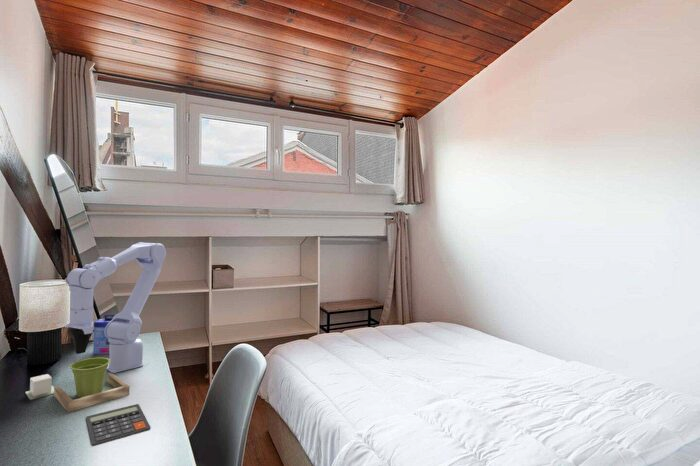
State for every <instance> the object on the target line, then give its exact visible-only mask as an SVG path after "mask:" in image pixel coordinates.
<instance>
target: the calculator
mask: <svg viewBox="0 0 700 466" xmlns="http://www.w3.org/2000/svg"><path fill="white" fill-rule="evenodd" d="M85 419H86V424H87V430H88V433H89V438H90V443H91V446H97V445H101V444H104V443H109V442H112V441H116V440H119V439H122V438H126V437H128V436H132V434H133V435H136V434H139V433H142V432H146V431H151V425H150V423H149V421H148V420H147V418H146V416H145V414H144V412H143V410H142V408H141V406H140V404H139V403H136V404H133V405H129V406H128V405H127V406H125V407H119V408H116V409H115V408H114V409H112V410H108V411H103V412H100V413H96V414H91V415H87V416H85Z"/></svg>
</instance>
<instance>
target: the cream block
mask: <svg viewBox="0 0 700 466" xmlns="http://www.w3.org/2000/svg"><path fill="white" fill-rule="evenodd" d="M52 380H53V378H52V376H51V375H50V374H49V373H46V374H41V375H37V376H32V377H30V379H29V391H30V393H31V394H32V395H33V396H37V395H40V394H44V393H48V392H51V389H52V386H53V385H52V384H53V383H52V382H53V381H52Z"/></svg>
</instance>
